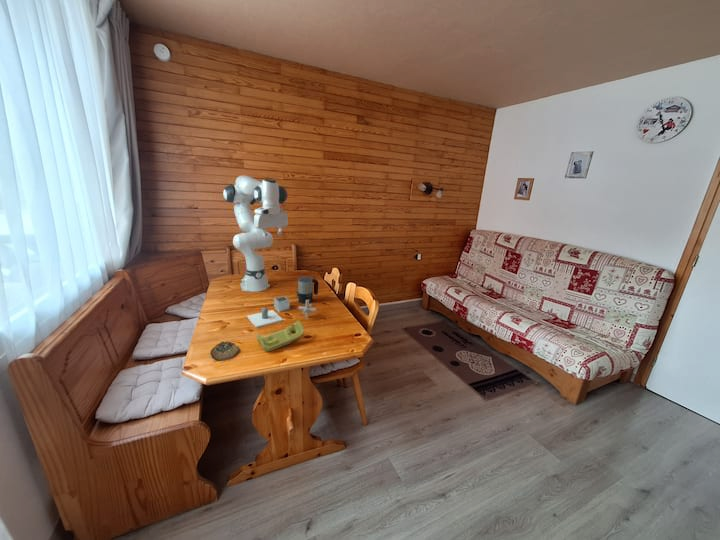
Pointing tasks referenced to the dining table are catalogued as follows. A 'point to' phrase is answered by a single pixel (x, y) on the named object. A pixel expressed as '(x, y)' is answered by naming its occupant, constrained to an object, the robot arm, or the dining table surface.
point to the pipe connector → (307, 308)
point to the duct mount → (264, 318)
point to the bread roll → (224, 350)
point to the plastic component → (281, 337)
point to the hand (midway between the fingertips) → (272, 235)
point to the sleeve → (281, 304)
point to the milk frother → (306, 289)
